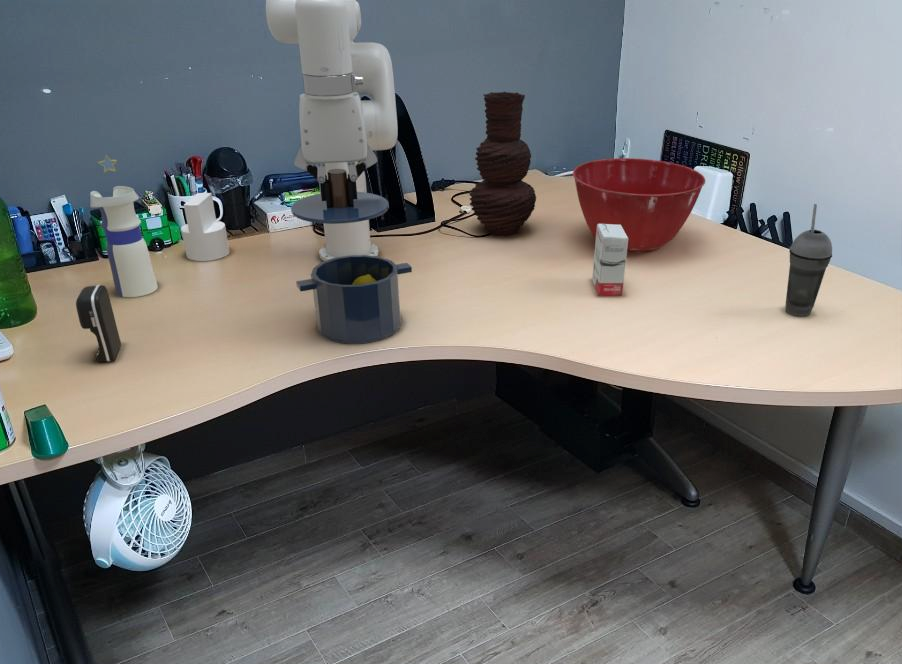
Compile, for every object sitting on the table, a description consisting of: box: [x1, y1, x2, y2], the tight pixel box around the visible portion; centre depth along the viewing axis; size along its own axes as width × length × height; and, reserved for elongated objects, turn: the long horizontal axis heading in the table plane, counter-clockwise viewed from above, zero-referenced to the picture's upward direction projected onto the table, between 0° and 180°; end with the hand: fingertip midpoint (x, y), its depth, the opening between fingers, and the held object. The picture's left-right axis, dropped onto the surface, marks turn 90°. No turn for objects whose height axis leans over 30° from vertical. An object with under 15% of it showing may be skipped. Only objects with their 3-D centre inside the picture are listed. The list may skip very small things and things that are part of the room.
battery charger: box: [75, 284, 122, 362], centre depth 130 cm, size 7×4×11 cm, turn 12°
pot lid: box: [290, 169, 390, 224], centre depth 130 cm, size 16×16×7 cm
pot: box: [295, 255, 413, 345], centre depth 140 cm, size 15×20×10 cm
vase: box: [469, 91, 537, 236], centre depth 180 cm, size 15×15×30 cm
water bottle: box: [89, 154, 159, 298], centre depth 150 cm, size 8×9×25 cm
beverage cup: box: [784, 203, 833, 318], centre depth 143 cm, size 7×7×20 cm
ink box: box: [591, 224, 628, 297], centre depth 155 cm, size 8×5×12 cm, turn 2°
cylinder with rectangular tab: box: [180, 192, 230, 262], centre depth 171 cm, size 9×9×12 cm
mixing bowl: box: [572, 157, 706, 254], centre depth 177 cm, size 28×28×15 cm
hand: (339, 203), depth 131 cm, fingers closed on pot lid, 3 cm apart
